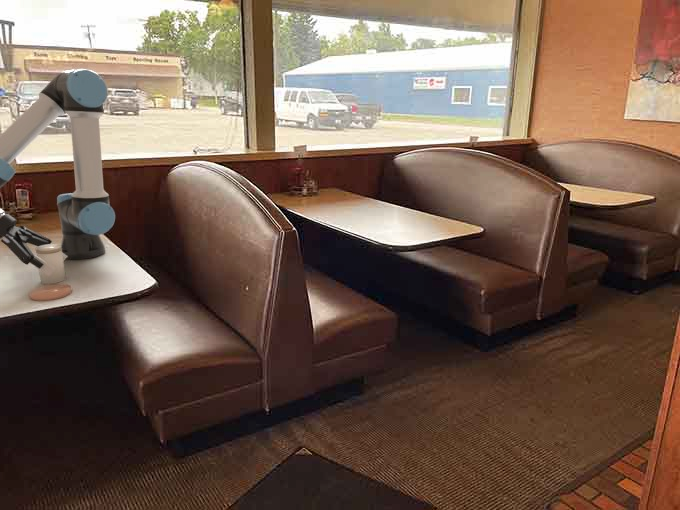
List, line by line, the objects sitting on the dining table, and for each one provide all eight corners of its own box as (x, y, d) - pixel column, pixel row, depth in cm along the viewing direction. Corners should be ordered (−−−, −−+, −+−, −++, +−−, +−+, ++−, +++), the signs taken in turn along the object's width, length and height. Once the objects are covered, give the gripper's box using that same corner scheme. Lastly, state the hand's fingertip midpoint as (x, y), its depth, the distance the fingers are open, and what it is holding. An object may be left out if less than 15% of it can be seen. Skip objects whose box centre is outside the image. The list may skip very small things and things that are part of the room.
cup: (44, 277, 168) (38, 244, 164) (68, 275, 169) (63, 243, 166) (37, 284, 161) (32, 250, 158) (63, 283, 163) (58, 249, 159)
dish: (37, 289, 158) (36, 285, 157) (76, 286, 160) (75, 282, 160) (24, 302, 147) (23, 298, 147) (66, 299, 150) (65, 295, 149)
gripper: (4, 221, 169) (62, 262, 176) (-30, 241, 145) (38, 287, 153) (19, 204, 168) (76, 246, 176) (-13, 222, 145) (55, 269, 152)
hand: (59, 265), depth 164 cm, fingers open, 13 cm apart
